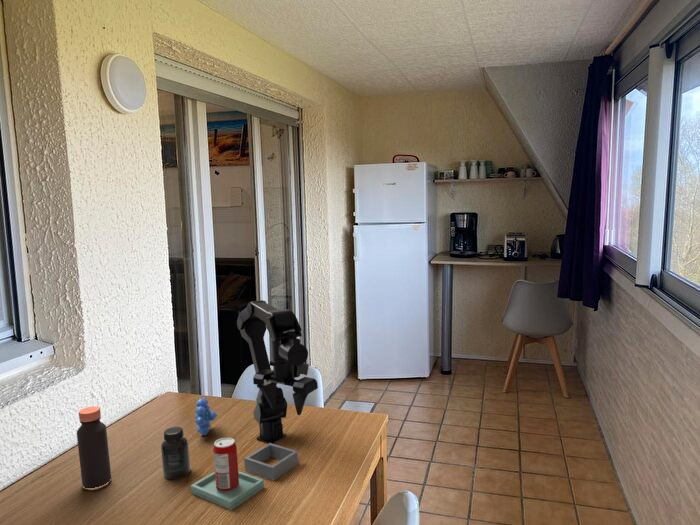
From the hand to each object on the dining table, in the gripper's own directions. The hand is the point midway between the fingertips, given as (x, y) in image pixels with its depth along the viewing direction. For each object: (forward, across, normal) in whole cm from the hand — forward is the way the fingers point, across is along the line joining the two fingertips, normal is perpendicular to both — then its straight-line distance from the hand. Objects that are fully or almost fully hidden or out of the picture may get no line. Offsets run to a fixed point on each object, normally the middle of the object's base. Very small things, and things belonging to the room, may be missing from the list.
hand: (286, 411), depth 146 cm
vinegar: (+13, +34, +36) cm, 51 cm away
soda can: (+12, +2, +21) cm, 24 cm away
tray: (+13, +2, +21) cm, 25 cm away
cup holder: (+13, 0, +7) cm, 15 cm away
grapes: (+13, +31, +2) cm, 34 cm away
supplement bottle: (+13, +20, +22) cm, 33 cm away
